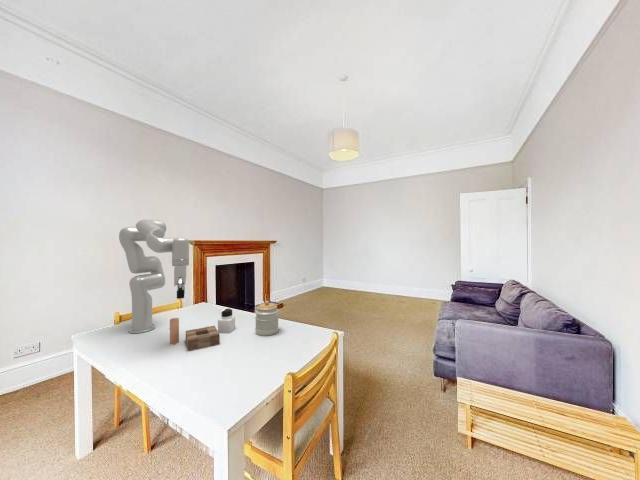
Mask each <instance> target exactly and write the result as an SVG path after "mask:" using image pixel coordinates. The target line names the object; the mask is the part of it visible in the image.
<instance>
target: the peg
mask: <svg viewBox="0 0 640 480" xmlns="http://www.w3.org/2000/svg"><path fill="white" fill-rule="evenodd" d="M179 343H180V318H179V317H174V318H170V319H169V345H177V344H179Z"/></svg>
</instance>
